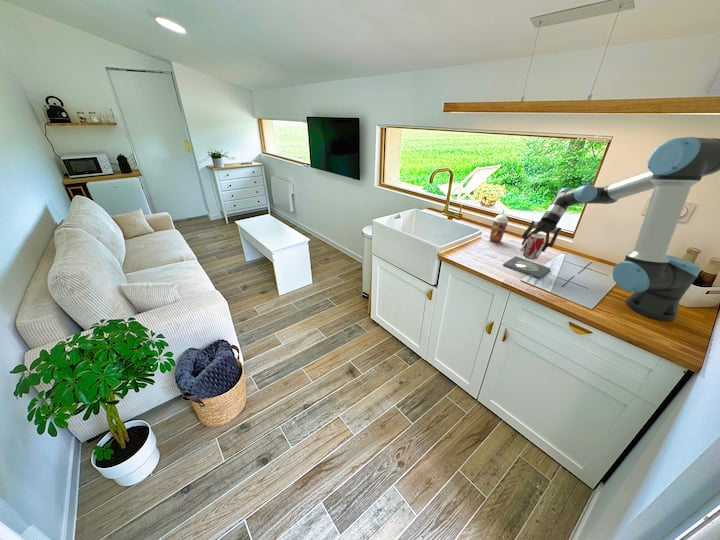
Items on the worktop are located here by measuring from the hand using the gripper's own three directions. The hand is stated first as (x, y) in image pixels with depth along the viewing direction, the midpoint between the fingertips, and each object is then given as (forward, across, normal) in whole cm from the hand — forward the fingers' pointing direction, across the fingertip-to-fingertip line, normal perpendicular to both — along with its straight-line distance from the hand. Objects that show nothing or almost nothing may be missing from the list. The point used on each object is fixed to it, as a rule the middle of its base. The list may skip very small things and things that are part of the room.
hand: (529, 253), depth 140 cm
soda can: (0, 0, -5) cm, 5 cm away
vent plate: (+4, 0, -9) cm, 10 cm away
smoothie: (-11, +28, -25) cm, 39 cm away
